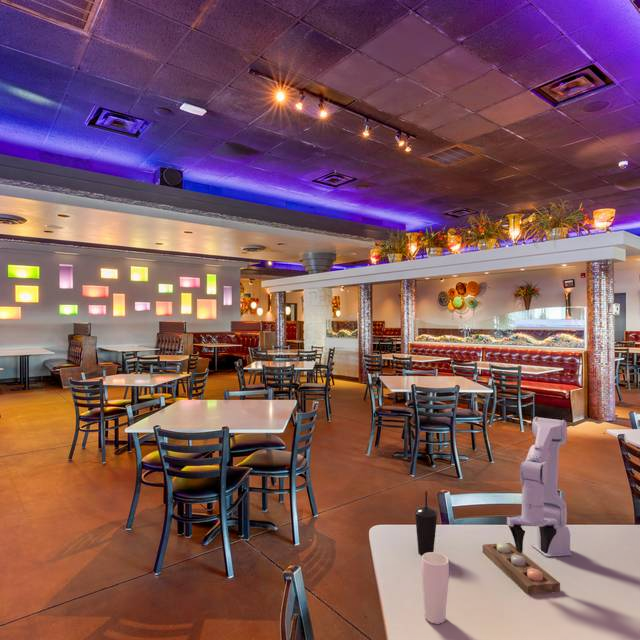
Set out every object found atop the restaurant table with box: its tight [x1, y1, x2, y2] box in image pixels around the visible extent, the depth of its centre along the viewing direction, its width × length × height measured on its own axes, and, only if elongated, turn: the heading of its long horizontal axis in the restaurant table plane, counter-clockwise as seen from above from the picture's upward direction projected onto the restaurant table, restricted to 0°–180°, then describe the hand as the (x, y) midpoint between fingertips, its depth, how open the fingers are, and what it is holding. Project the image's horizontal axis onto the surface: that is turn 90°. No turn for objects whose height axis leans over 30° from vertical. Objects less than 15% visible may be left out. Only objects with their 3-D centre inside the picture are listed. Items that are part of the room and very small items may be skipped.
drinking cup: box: [413, 490, 439, 557], centre depth 146 cm, size 8×8×20 cm
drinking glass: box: [421, 551, 450, 625], centre depth 113 cm, size 7×7×15 cm
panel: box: [482, 542, 561, 596], centre depth 136 cm, size 10×24×2 cm, turn 9°
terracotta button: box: [527, 568, 543, 582], centre depth 128 cm, size 4×4×3 cm
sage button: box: [496, 542, 510, 554], centre depth 144 cm, size 4×4×3 cm
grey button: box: [511, 555, 525, 567], centre depth 136 cm, size 4×4×3 cm
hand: (531, 551), depth 129 cm, fingers open, 7 cm apart
